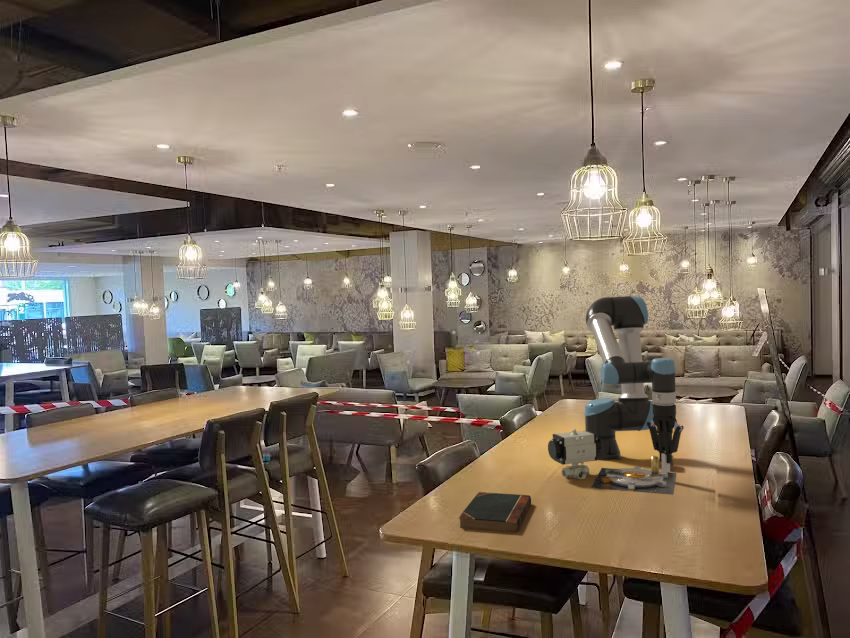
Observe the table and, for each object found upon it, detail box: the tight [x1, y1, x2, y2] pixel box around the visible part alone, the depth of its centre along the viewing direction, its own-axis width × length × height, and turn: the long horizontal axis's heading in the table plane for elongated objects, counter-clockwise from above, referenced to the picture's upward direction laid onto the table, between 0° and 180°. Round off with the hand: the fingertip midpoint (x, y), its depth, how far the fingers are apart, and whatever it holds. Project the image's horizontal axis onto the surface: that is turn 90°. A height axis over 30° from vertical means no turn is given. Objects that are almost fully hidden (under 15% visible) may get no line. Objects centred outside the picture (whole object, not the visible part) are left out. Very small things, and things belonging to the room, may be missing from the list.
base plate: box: [590, 467, 677, 496], centre depth 222 cm, size 26×26×1 cm
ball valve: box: [547, 428, 602, 480], centre depth 230 cm, size 18×8×18 cm, turn 105°
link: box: [670, 454, 675, 472], centre depth 236 cm, size 4×7×5 cm, turn 157°
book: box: [458, 491, 532, 533], centre depth 195 cm, size 17×4×25 cm
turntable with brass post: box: [601, 455, 668, 490], centre depth 222 cm, size 21×23×8 cm
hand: (666, 471), depth 219 cm, fingers closed
